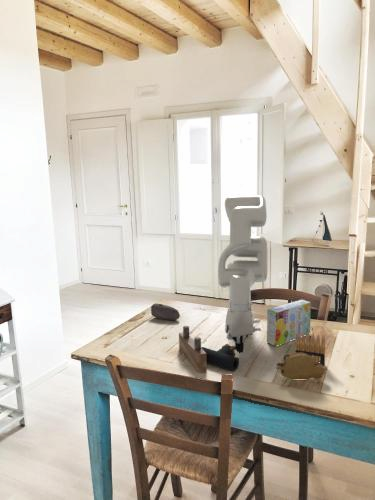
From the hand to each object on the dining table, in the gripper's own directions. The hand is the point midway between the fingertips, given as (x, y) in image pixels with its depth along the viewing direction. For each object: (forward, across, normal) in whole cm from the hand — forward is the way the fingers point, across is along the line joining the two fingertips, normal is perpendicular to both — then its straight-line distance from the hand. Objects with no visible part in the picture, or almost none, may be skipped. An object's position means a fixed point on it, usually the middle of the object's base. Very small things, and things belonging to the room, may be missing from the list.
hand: (239, 351), depth 157 cm
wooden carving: (+2, -10, +24) cm, 26 cm away
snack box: (+2, -27, -5) cm, 28 cm away
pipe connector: (+2, +8, +1) cm, 8 cm away
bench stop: (+2, +18, -4) cm, 19 cm away
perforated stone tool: (+2, +12, -50) cm, 51 cm away
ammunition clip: (+2, -20, +16) cm, 26 cm away
